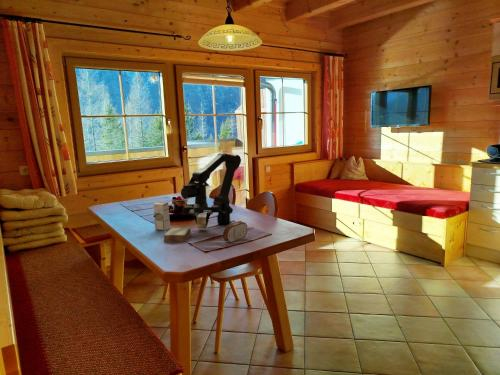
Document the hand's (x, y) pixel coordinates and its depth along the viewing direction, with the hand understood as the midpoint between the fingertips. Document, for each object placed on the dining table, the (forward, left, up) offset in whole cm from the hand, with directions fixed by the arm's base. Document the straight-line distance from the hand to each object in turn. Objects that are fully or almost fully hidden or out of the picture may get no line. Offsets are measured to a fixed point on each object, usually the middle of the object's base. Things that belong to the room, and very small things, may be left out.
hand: (202, 225), depth 178 cm
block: (0, 0, -1) cm, 1 cm away
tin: (-19, +16, -3) cm, 25 cm away
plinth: (+10, +12, -3) cm, 16 cm away
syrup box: (+22, -3, -3) cm, 22 cm away
